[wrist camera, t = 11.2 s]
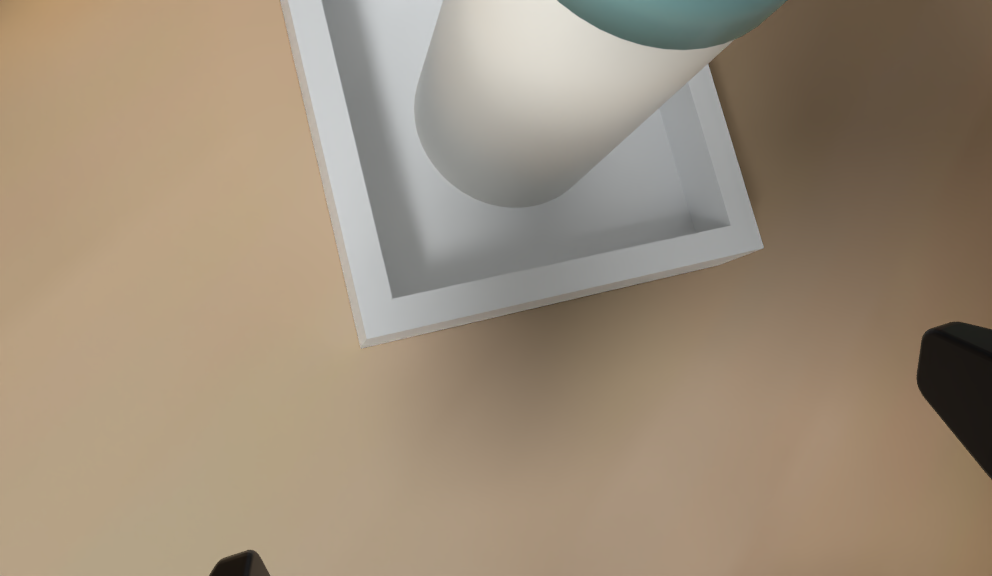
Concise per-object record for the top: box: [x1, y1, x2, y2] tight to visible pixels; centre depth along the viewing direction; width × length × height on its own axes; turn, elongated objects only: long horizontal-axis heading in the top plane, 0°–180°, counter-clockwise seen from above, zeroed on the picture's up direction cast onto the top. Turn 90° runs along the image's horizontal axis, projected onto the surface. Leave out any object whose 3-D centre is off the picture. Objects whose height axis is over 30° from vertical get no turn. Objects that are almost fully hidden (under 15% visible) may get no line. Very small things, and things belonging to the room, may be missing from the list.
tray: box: [280, 0, 764, 348], centre depth 20 cm, size 11×11×2 cm
